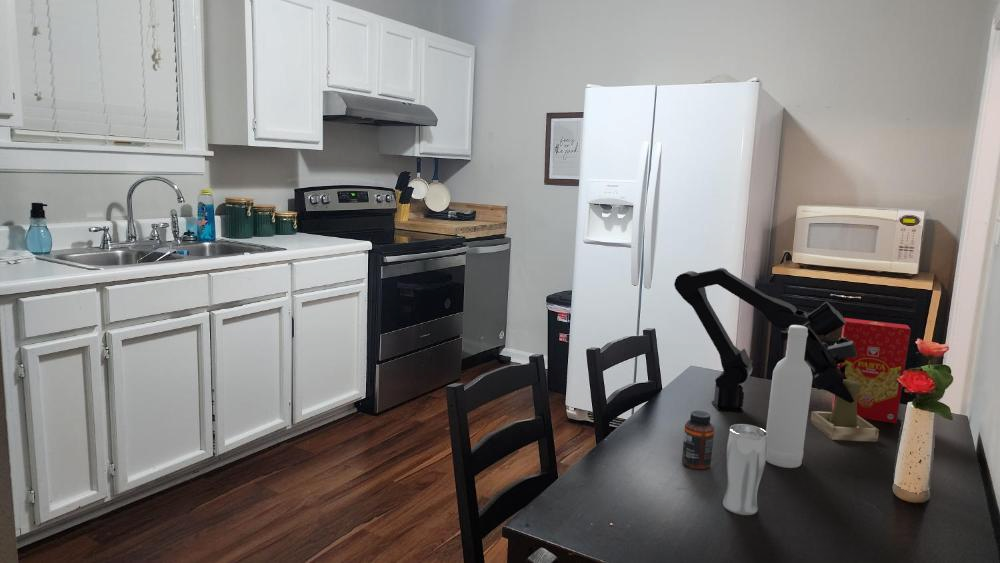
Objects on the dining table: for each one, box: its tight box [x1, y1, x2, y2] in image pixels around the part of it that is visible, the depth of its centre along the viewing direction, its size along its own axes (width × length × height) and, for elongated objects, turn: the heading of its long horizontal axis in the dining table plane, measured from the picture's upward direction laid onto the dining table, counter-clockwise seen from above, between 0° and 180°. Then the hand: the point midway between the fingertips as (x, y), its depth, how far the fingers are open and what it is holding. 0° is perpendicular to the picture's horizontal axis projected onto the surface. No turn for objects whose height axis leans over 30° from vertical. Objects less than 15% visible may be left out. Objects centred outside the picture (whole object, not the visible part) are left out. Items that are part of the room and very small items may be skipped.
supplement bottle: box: [681, 410, 715, 470], centre depth 142 cm, size 6×6×11 cm
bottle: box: [765, 325, 814, 469], centre depth 144 cm, size 8×8×30 cm
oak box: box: [810, 410, 880, 443], centre depth 165 cm, size 11×11×3 cm
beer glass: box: [722, 423, 768, 516], centre depth 124 cm, size 7×7×15 cm
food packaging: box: [831, 317, 912, 424], centre depth 176 cm, size 15×5×25 cm, turn 67°
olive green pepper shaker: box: [830, 379, 861, 428], centre depth 164 cm, size 6×6×11 cm
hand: (853, 399), depth 164 cm, fingers closed on olive green pepper shaker, 5 cm apart
